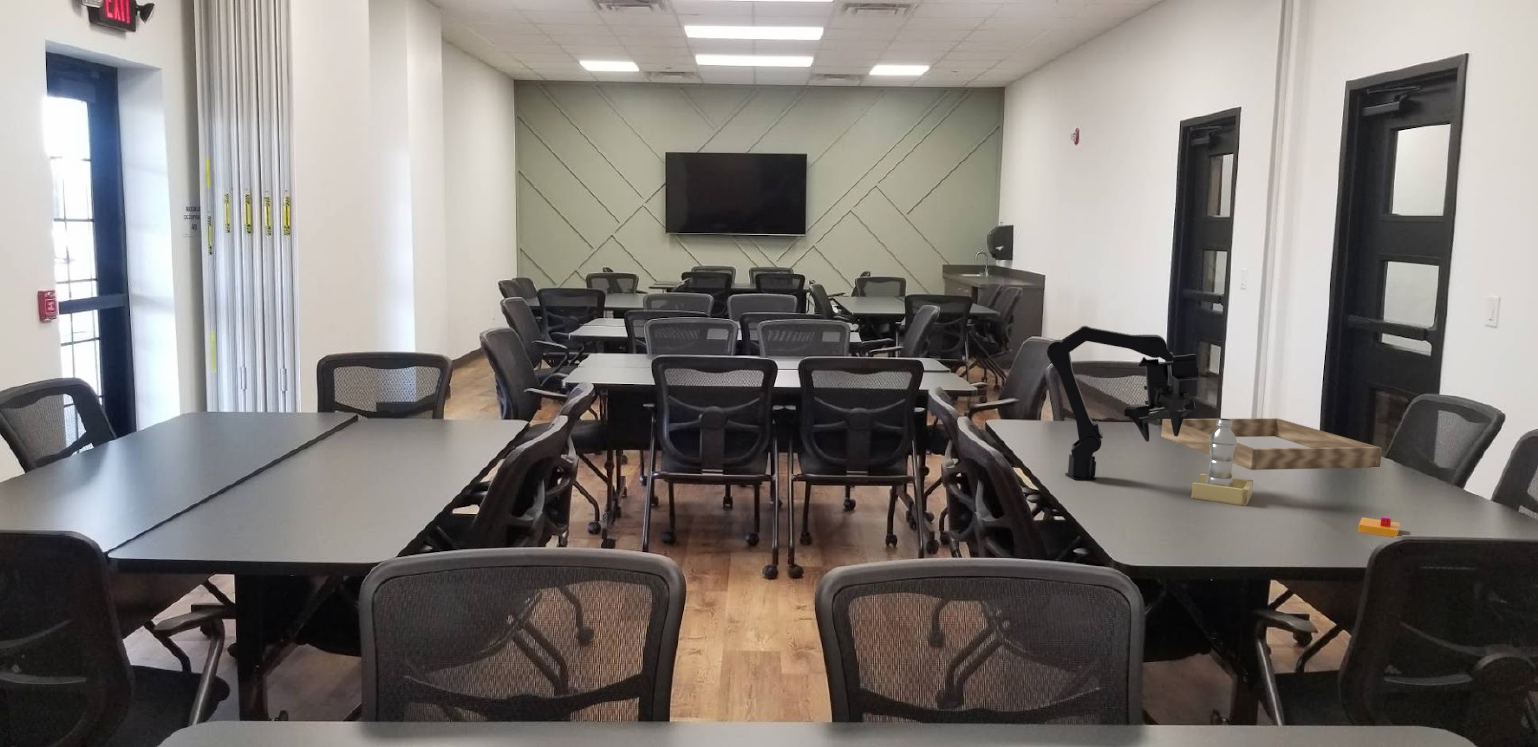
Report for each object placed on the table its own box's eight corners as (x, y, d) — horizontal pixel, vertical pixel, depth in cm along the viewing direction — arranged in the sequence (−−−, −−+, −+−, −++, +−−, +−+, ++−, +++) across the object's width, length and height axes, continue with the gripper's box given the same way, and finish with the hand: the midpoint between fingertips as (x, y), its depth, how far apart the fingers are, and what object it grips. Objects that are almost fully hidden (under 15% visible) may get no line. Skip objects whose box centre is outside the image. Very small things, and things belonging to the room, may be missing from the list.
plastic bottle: (1229, 498, 283) (1236, 422, 280) (1202, 494, 286) (1208, 419, 284) (1234, 494, 288) (1241, 419, 286) (1207, 490, 292) (1213, 416, 289)
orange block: (1358, 533, 256) (1359, 515, 256) (1361, 526, 263) (1362, 508, 263) (1397, 539, 252) (1399, 521, 252) (1399, 531, 259) (1401, 514, 258)
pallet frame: (1251, 469, 320) (1252, 449, 319) (1161, 436, 368) (1162, 419, 367) (1379, 467, 328) (1382, 447, 328) (1275, 435, 376) (1277, 418, 375)
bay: (1191, 498, 284) (1192, 483, 284) (1198, 487, 296) (1199, 473, 295) (1246, 505, 278) (1247, 490, 277) (1251, 495, 289) (1253, 480, 289)
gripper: (1146, 388, 285) (1151, 447, 286) (1206, 379, 290) (1210, 437, 292) (1121, 385, 295) (1125, 442, 297) (1179, 376, 301) (1183, 432, 302)
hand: (1161, 438), depth 297 cm, fingers open, 9 cm apart
